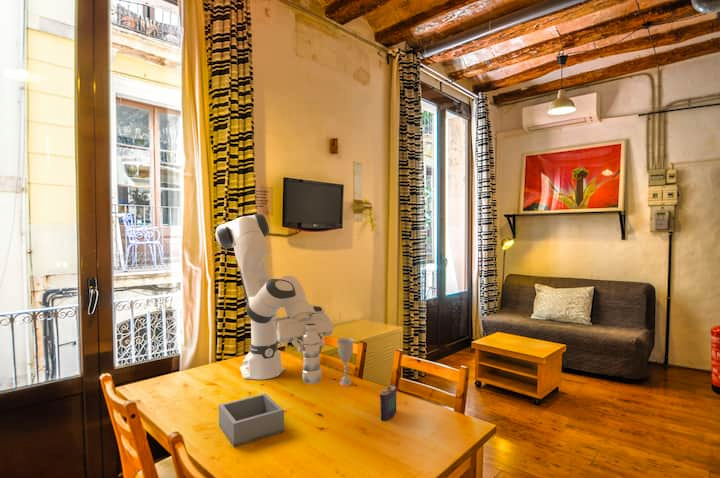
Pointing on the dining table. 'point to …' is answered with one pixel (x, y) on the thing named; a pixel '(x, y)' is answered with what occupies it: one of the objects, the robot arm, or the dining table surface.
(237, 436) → the bin
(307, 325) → the plastic bottle
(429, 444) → the dining table surface
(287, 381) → the dining table surface
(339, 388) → the dining table surface
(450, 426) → the dining table surface
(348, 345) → the chalice
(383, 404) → the hip flask
